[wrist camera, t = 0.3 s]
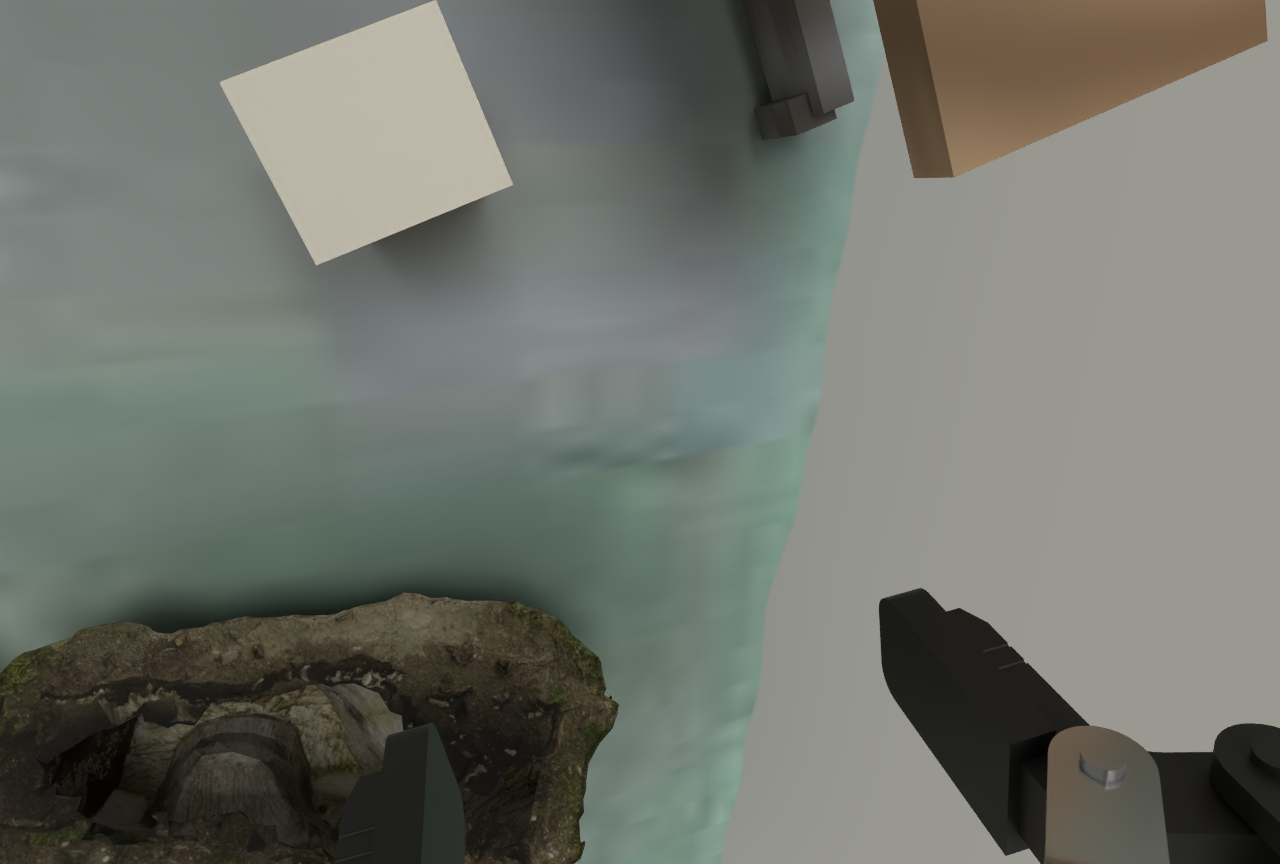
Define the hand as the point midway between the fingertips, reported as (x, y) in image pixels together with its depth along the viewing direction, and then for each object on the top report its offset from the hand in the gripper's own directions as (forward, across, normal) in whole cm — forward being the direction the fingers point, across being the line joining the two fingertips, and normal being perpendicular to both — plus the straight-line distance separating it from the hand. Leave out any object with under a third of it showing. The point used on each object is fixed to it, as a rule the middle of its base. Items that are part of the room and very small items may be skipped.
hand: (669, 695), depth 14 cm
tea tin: (+28, +4, -8) cm, 30 cm away
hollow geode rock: (+26, +15, +16) cm, 34 cm away
